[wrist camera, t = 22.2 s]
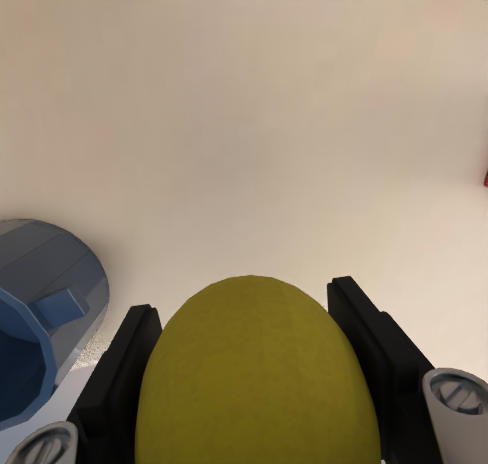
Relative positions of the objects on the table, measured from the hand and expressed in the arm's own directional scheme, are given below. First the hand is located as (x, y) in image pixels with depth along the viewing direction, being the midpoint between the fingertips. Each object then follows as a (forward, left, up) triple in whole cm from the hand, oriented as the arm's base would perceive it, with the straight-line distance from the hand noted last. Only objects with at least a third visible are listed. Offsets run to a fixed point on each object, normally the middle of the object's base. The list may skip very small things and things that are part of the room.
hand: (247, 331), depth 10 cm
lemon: (0, 0, -2) cm, 2 cm away
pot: (+6, -22, -21) cm, 31 cm away
